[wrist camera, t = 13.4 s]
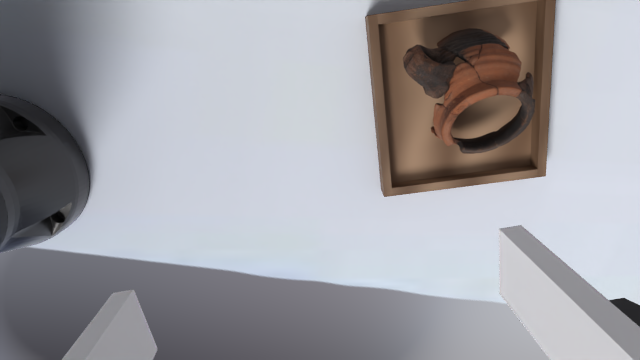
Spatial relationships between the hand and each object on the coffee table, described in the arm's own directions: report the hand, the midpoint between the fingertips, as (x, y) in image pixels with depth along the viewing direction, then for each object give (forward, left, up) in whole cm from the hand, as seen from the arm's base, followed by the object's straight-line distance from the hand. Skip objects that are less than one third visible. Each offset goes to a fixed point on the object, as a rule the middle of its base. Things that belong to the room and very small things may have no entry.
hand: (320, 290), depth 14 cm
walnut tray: (+13, +2, -25) cm, 29 cm away
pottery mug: (+13, +3, -25) cm, 28 cm away
